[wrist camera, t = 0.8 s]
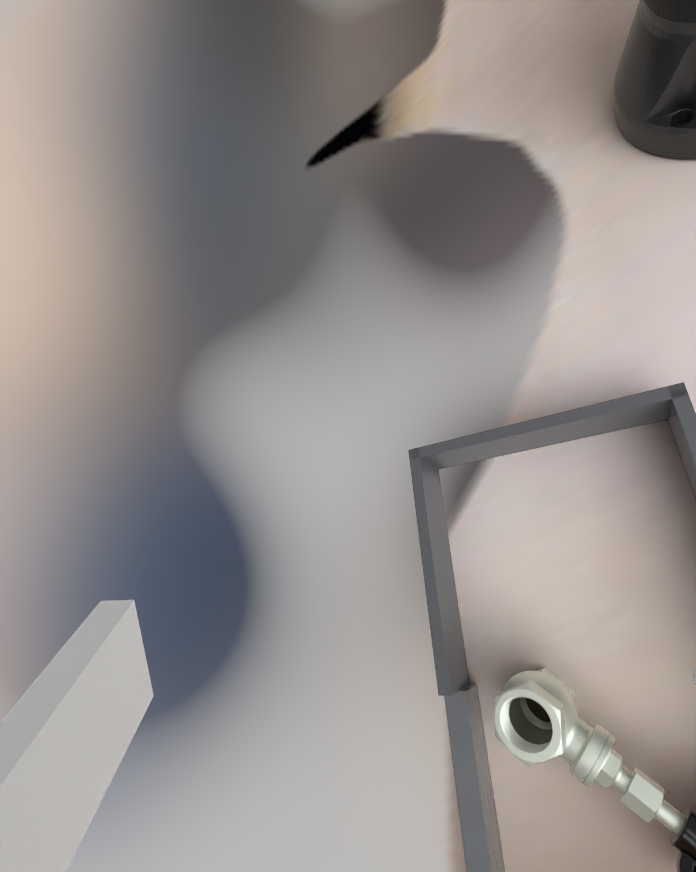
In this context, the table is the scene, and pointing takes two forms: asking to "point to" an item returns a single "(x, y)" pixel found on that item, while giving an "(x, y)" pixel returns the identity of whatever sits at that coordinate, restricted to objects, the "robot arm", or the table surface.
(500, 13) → the table surface
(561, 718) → the valve
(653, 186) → the table surface
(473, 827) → the slot rails
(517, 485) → the table surface
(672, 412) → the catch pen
